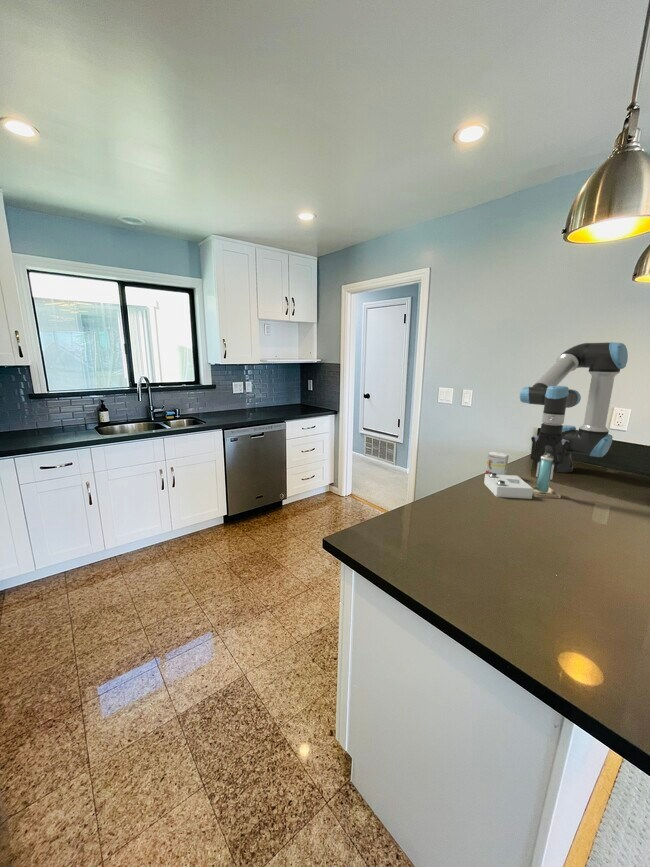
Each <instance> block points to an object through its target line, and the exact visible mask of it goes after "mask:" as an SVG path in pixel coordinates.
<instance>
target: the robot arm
mask: <svg viewBox="0 0 650 867" xmlns="http://www.w3.org/2000/svg"><path fill="white" fill-rule="evenodd" d="M628 360H629V358H628V348H627V346H626V345H625V343H624V342H616V341H615V342H613V341H612V342H585V343H580V344H577V345H575V346H572V347H570V348H567V350H564V351H563V352H562V353H560V355H559V356H558V357H557V358H556V361H555V363H553V365H552V366H551V367H550V368H549V369H548V370H547V371H546V372H545V373H544V374H543V375H542V376H541V377H540V378H539V379H538V380H537V381H536V382H535V383H534V384H533V385H532V386H524V387H523V388H521V390H520V391H519V401H520V402H521V403H523V404H529V405H540V406H543V410H542V411H543V412H542V418H541V422H542V423H541V425H540V431H539V434H538V435H536V436H535V435H532V436H531V437H530V439H531V452H530V460H533V461H534V467H533V468H534V469H536V473H535V478H538V474H539V467H540V456H541V455H546V454H550V456H552V457H554V460H553V463H552V468H551V474H550V481H551V480H553V476H554V473H563V474H564V473H565V474H566V473H572V472H573V471H574V464H573V460H572V453H576V454H580V455H585V456H589V457H596V458H603V457H604V456H605V455H606V454H607V453H608V451H609V450H610V447H611V445H612V444H613V435H611V434H609V433H610V430H609V428H607V426H606V425H607V421H608V415H609V410H610V409H609V408H610V403H611V399H612V392H613V388H614V384H615V382H614V381H615V377H616V376H617V375H618V374H619V373H621V372H620V371H621V370H623V369H625V368H626V367H627V363H628ZM578 368H586V369H588V373H589V374H590V375H591V378H590V382H589V383H590V384H589V390H588V397H587V401H586V402H587V403H586V408H585V412H584V414H585V415H584V420H583V424H582V425H580V426H579V427H578V429H577V427H576V426H575V425H567V424H566V425H565V424H564V423H565V422H564V421H565V415H566V409H567V408H568V409H569V408H573V407H576V406H577V405H579V403H580V402H581V398H582V396H581V394H580V392H579V391H577V390H575V389H569V387H568V386H565V385H559V384H560V383H561V382H562V381H563V380H564V379H565V378H566V377H567V376H568V375H569V373H570V372H573V371H575V370H576V369H578ZM538 440H540V442H541V446H540V448H539V450H538V453H537V454H536V448H537V441H538ZM544 450H545V451H544ZM543 451H544V453H543Z"/></svg>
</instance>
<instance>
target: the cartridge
mask: <svg viewBox="0 0 650 867" xmlns="http://www.w3.org/2000/svg"><path fill="white" fill-rule="evenodd" d="M553 460H554V457H552V456H550V454H546V455H544V454H541V456H540V458H539V461H540V467H539V474H538V477H537V480H536V481H537V482H536V486H537V487H536V490H538V491H540V492H548V489H549V487H550V482H551V479H550V474H551V468H552V463H553Z"/></svg>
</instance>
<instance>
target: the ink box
mask: <svg viewBox="0 0 650 867" xmlns="http://www.w3.org/2000/svg"><path fill="white" fill-rule="evenodd" d="M486 459H487V460H486V467H485V474H490V473H496V474H497V475H507V471H508V470H507V469H508V462H509V454H508V453H502V452H496V451H490V452H488V453H487V458H486Z"/></svg>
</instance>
